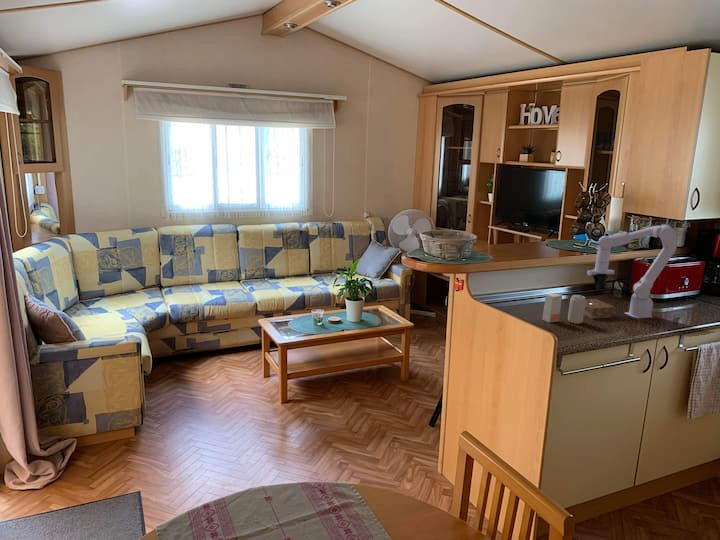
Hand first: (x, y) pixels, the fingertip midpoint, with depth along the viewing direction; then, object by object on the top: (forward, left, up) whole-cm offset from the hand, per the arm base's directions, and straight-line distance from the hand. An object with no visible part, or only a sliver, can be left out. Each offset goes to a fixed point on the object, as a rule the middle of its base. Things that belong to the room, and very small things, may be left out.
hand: (598, 289), depth 265 cm
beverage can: (+24, +14, -11) cm, 30 cm away
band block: (+6, +5, -10) cm, 13 cm away
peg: (+6, +5, -9) cm, 12 cm away
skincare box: (+34, +10, -11) cm, 37 cm away
